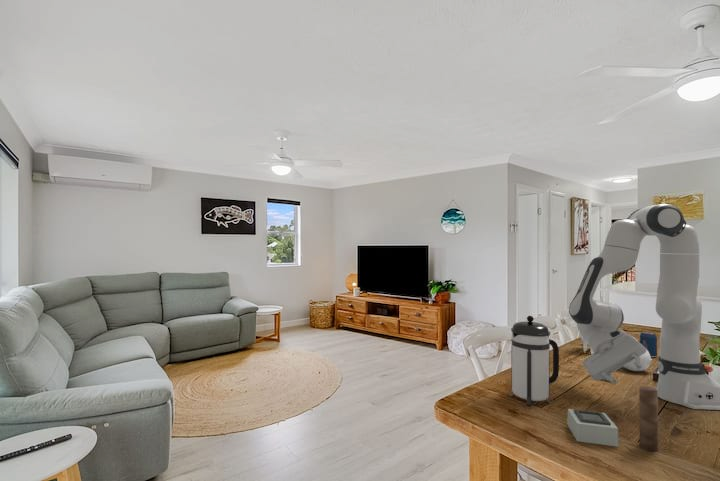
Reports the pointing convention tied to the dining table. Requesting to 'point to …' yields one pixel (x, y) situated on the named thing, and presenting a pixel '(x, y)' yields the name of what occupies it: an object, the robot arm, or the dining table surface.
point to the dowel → (648, 418)
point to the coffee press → (532, 361)
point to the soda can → (649, 342)
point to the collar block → (592, 427)
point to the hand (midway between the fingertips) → (626, 374)
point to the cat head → (644, 361)
